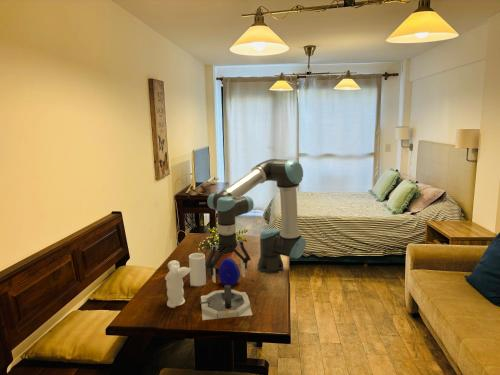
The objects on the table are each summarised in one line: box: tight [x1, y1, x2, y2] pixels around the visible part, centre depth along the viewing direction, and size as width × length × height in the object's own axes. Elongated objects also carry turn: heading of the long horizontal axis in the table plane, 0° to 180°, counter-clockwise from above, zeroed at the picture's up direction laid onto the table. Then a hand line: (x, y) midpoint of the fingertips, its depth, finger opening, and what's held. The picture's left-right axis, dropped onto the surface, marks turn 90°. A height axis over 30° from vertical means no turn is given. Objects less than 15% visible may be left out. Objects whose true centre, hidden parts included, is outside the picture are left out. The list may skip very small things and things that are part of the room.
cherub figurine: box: [164, 259, 191, 309], centre depth 171 cm, size 12×12×22 cm
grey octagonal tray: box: [199, 288, 253, 321], centre depth 169 cm, size 23×23×3 cm
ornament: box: [218, 257, 241, 287], centre depth 190 cm, size 11×9×15 cm
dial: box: [208, 285, 243, 311], centre depth 168 cm, size 16×16×12 cm
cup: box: [188, 252, 207, 287], centre depth 191 cm, size 8×8×16 cm
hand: (228, 278), depth 161 cm, fingers open, 13 cm apart
